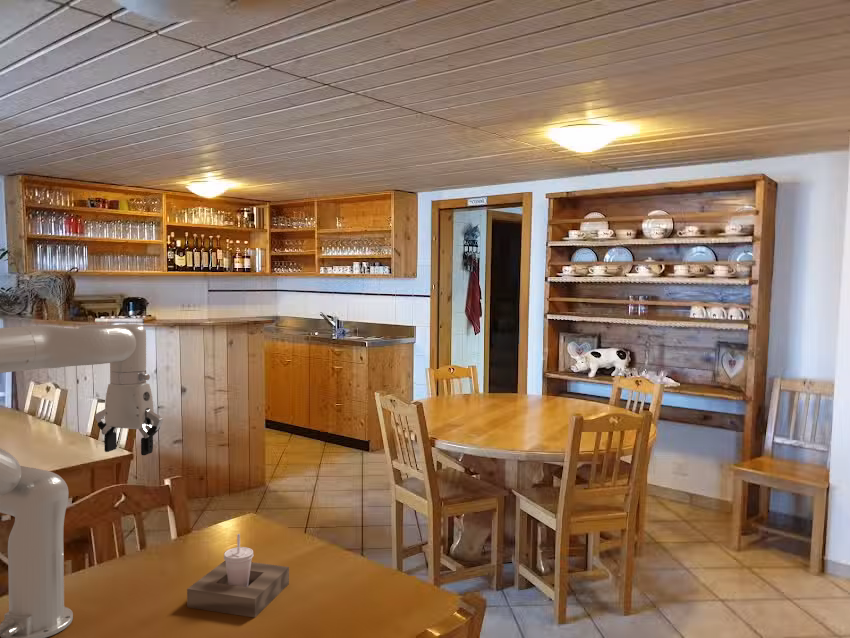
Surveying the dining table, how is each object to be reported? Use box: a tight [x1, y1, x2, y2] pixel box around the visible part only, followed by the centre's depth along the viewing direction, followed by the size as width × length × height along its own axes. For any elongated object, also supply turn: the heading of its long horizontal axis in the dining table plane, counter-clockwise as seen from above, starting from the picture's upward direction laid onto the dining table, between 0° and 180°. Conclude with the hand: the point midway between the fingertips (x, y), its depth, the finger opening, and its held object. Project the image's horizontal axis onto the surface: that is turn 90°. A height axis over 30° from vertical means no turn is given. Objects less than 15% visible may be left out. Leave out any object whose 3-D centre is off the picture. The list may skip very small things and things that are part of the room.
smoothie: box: [223, 533, 254, 587], centre depth 145 cm, size 6×6×14 cm
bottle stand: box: [186, 560, 290, 618], centre depth 145 cm, size 16×16×4 cm
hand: (128, 452), depth 149 cm, fingers open, 9 cm apart
